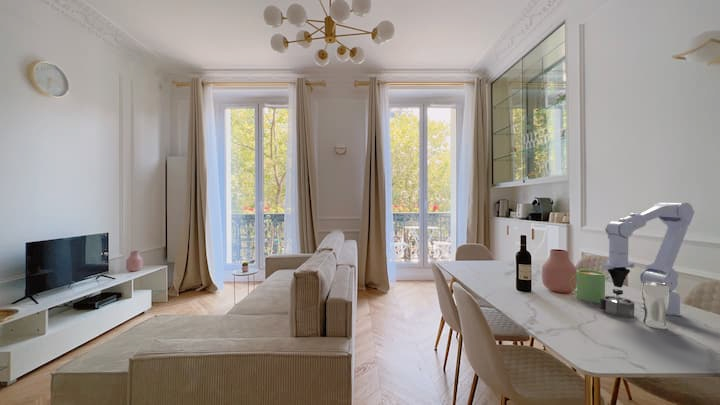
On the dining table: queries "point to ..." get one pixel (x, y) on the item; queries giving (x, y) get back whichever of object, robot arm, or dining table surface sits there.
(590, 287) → the mug
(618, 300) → the plunger
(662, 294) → the beer glass
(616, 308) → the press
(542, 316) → the dining table surface
